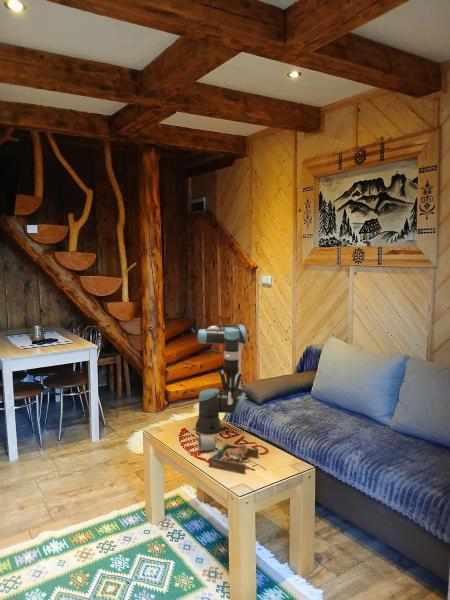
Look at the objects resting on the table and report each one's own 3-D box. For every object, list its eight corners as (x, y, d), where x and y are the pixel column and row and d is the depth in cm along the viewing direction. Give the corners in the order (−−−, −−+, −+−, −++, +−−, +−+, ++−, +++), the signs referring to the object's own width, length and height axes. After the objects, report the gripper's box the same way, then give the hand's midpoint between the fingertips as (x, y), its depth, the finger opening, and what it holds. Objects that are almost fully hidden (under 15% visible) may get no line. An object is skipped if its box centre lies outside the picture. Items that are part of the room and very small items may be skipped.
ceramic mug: (216, 452, 240) (216, 437, 240) (200, 453, 238) (200, 438, 238) (211, 444, 251) (211, 430, 250) (196, 445, 249) (196, 431, 248)
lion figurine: (248, 463, 231) (244, 448, 238) (252, 456, 228) (247, 442, 235) (220, 463, 226) (217, 448, 234) (223, 456, 224) (220, 441, 231)
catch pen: (225, 451, 242) (225, 443, 242) (258, 457, 235) (258, 449, 235) (208, 466, 223) (209, 458, 223) (244, 473, 217) (244, 465, 216)
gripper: (216, 358, 239) (215, 404, 241) (240, 361, 234) (239, 407, 236) (222, 356, 246) (221, 400, 248) (245, 358, 241) (244, 403, 243)
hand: (230, 403), depth 242 cm, fingers closed
